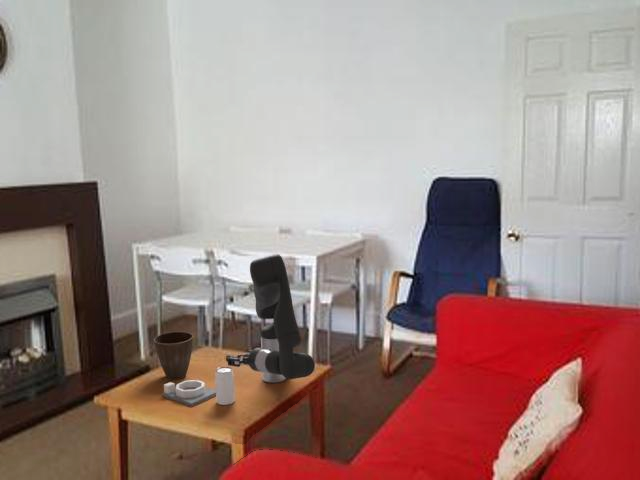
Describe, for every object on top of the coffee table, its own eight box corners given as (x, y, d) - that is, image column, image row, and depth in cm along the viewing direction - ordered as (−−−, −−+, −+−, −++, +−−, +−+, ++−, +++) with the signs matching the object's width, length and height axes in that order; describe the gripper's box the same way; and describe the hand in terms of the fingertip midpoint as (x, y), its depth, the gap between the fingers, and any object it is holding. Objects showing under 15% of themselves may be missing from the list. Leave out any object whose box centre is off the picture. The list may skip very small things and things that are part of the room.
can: (234, 405, 215) (232, 372, 213) (215, 406, 215) (213, 373, 213) (235, 397, 221) (233, 365, 219) (217, 398, 221) (215, 366, 219)
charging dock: (189, 384, 235) (189, 374, 234) (219, 394, 225) (218, 383, 224) (162, 396, 224) (161, 385, 224) (191, 406, 215) (191, 395, 214)
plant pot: (186, 384, 234) (183, 344, 232) (149, 382, 237) (147, 342, 235) (201, 370, 249) (199, 332, 246) (166, 368, 252) (164, 331, 249)
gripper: (282, 344, 201) (254, 341, 213) (245, 353, 192) (218, 348, 204) (284, 367, 201) (256, 362, 213) (248, 377, 192) (220, 371, 204)
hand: (237, 355), depth 209 cm, fingers open, 8 cm apart
